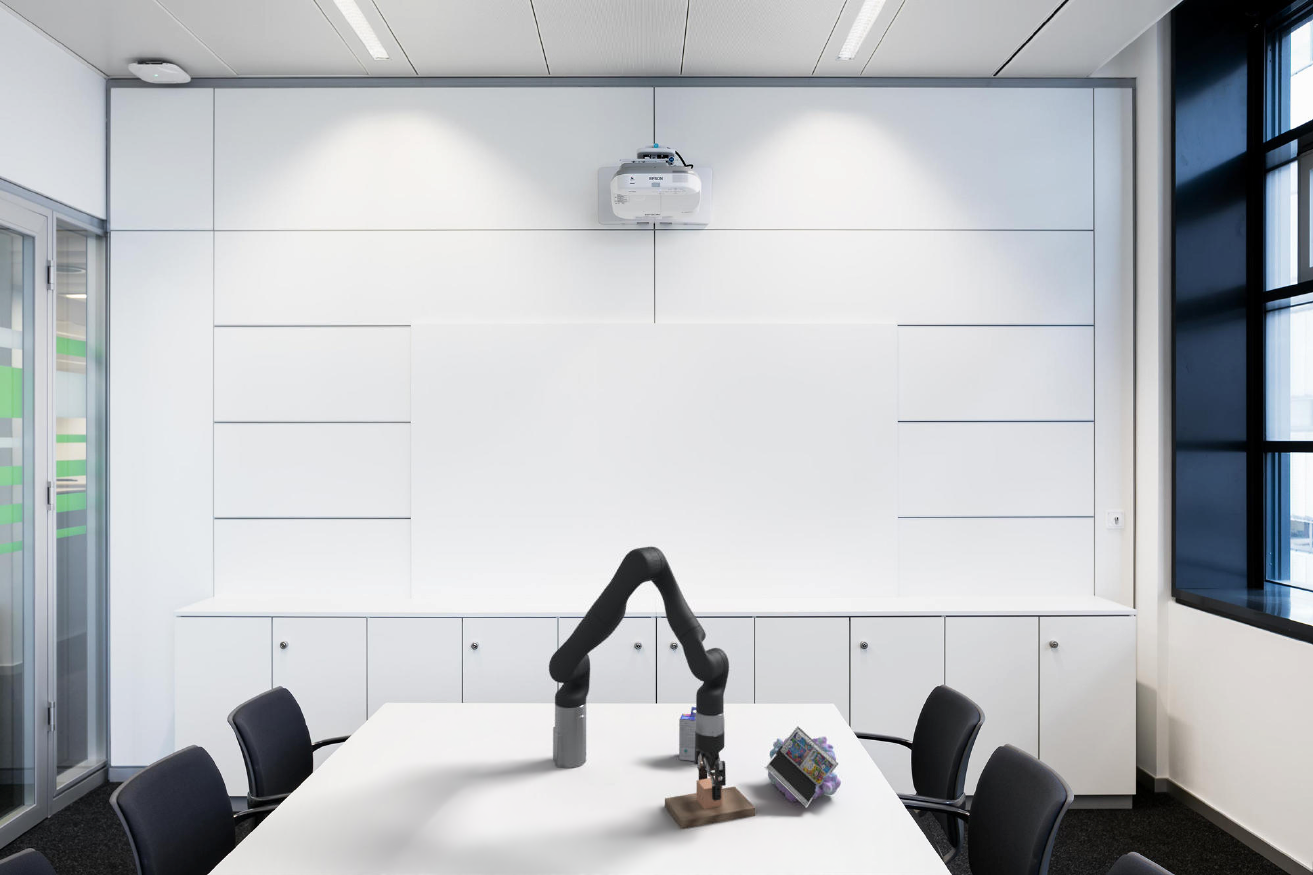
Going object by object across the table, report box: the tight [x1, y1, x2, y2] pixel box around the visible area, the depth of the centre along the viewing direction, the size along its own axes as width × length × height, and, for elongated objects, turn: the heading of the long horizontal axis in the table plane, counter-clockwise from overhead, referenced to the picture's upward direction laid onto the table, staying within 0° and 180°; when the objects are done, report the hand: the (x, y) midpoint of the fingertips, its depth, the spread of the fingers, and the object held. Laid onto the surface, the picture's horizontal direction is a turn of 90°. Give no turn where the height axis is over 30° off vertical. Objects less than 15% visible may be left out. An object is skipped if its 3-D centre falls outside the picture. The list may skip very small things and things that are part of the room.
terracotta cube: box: [696, 777, 723, 809], centre depth 191 cm, size 5×5×5 cm
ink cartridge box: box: [678, 706, 700, 762], centre depth 222 cm, size 10×6×14 cm, turn 78°
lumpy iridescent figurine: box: [764, 726, 842, 808], centre depth 201 cm, size 20×22×18 cm
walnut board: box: [664, 786, 756, 830], centre depth 190 cm, size 20×12×2 cm, turn 110°
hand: (709, 791), depth 190 cm, fingers open, 8 cm apart
